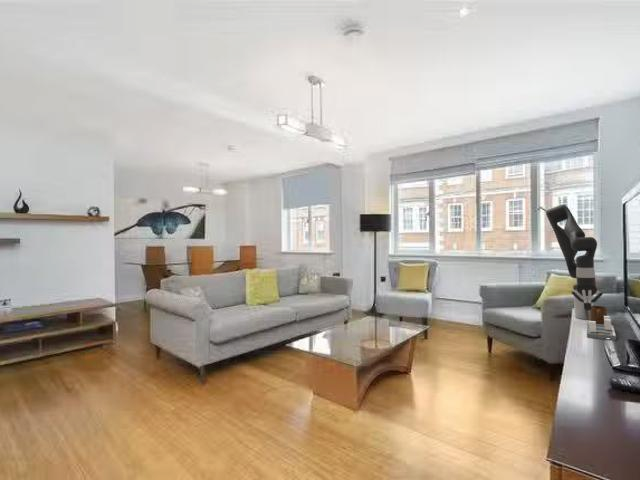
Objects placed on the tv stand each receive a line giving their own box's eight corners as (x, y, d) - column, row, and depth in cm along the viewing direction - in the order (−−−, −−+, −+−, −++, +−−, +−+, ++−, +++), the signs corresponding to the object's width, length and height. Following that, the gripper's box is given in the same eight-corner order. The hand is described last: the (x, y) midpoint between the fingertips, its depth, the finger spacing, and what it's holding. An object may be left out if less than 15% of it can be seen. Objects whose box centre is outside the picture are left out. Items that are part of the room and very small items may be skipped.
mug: (609, 327, 183) (608, 310, 183) (591, 325, 187) (590, 309, 188) (606, 322, 193) (605, 306, 193) (590, 321, 197) (589, 305, 197)
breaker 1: (589, 330, 171) (589, 320, 171) (596, 330, 169) (595, 321, 169) (589, 331, 169) (589, 322, 169) (596, 332, 167) (595, 322, 167)
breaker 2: (604, 324, 179) (603, 315, 180) (610, 325, 178) (609, 316, 178) (604, 326, 177) (603, 316, 177) (610, 326, 176) (610, 317, 176)
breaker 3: (604, 328, 173) (604, 318, 173) (611, 328, 172) (610, 319, 172) (605, 329, 171) (604, 320, 171) (611, 330, 169) (610, 320, 169)
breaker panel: (587, 326, 186) (587, 322, 186) (613, 329, 179) (613, 325, 179) (587, 337, 167) (586, 333, 167) (616, 340, 160) (616, 335, 160)
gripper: (569, 276, 171) (571, 310, 171) (603, 277, 163) (605, 312, 163) (569, 275, 177) (571, 308, 177) (602, 275, 169) (604, 309, 169)
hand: (587, 310), depth 170 cm, fingers closed
